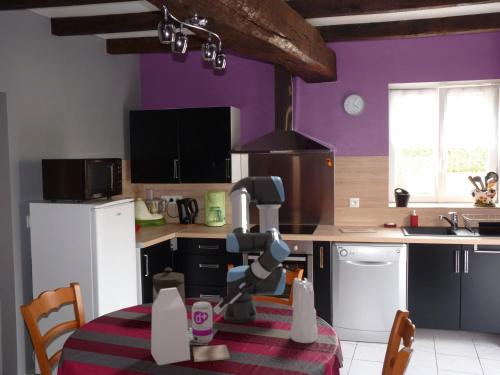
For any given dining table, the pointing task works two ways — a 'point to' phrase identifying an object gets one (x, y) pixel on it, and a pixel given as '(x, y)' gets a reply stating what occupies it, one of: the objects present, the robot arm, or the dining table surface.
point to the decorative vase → (303, 312)
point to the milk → (169, 328)
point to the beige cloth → (210, 353)
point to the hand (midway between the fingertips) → (222, 306)
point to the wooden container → (168, 283)
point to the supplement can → (202, 322)
